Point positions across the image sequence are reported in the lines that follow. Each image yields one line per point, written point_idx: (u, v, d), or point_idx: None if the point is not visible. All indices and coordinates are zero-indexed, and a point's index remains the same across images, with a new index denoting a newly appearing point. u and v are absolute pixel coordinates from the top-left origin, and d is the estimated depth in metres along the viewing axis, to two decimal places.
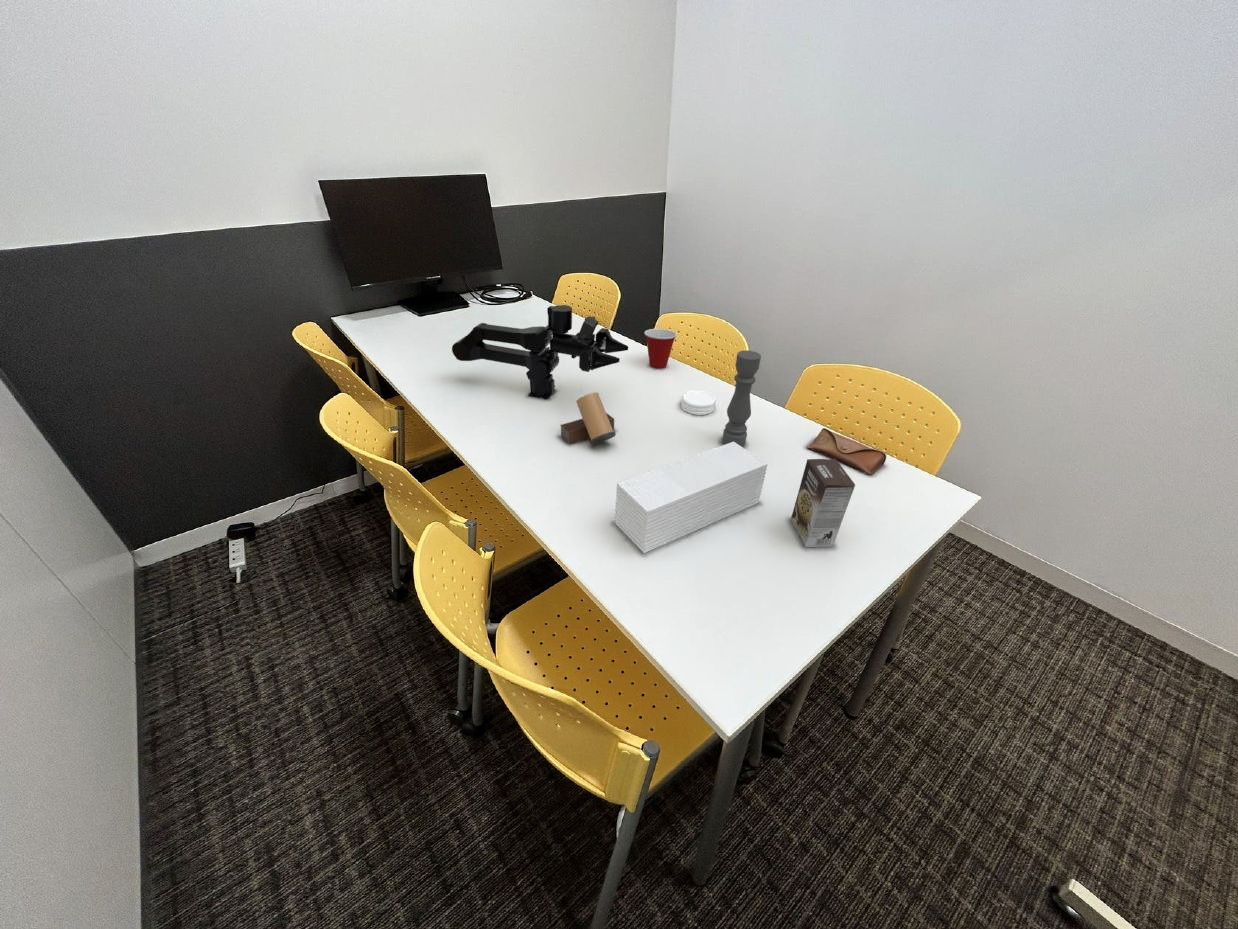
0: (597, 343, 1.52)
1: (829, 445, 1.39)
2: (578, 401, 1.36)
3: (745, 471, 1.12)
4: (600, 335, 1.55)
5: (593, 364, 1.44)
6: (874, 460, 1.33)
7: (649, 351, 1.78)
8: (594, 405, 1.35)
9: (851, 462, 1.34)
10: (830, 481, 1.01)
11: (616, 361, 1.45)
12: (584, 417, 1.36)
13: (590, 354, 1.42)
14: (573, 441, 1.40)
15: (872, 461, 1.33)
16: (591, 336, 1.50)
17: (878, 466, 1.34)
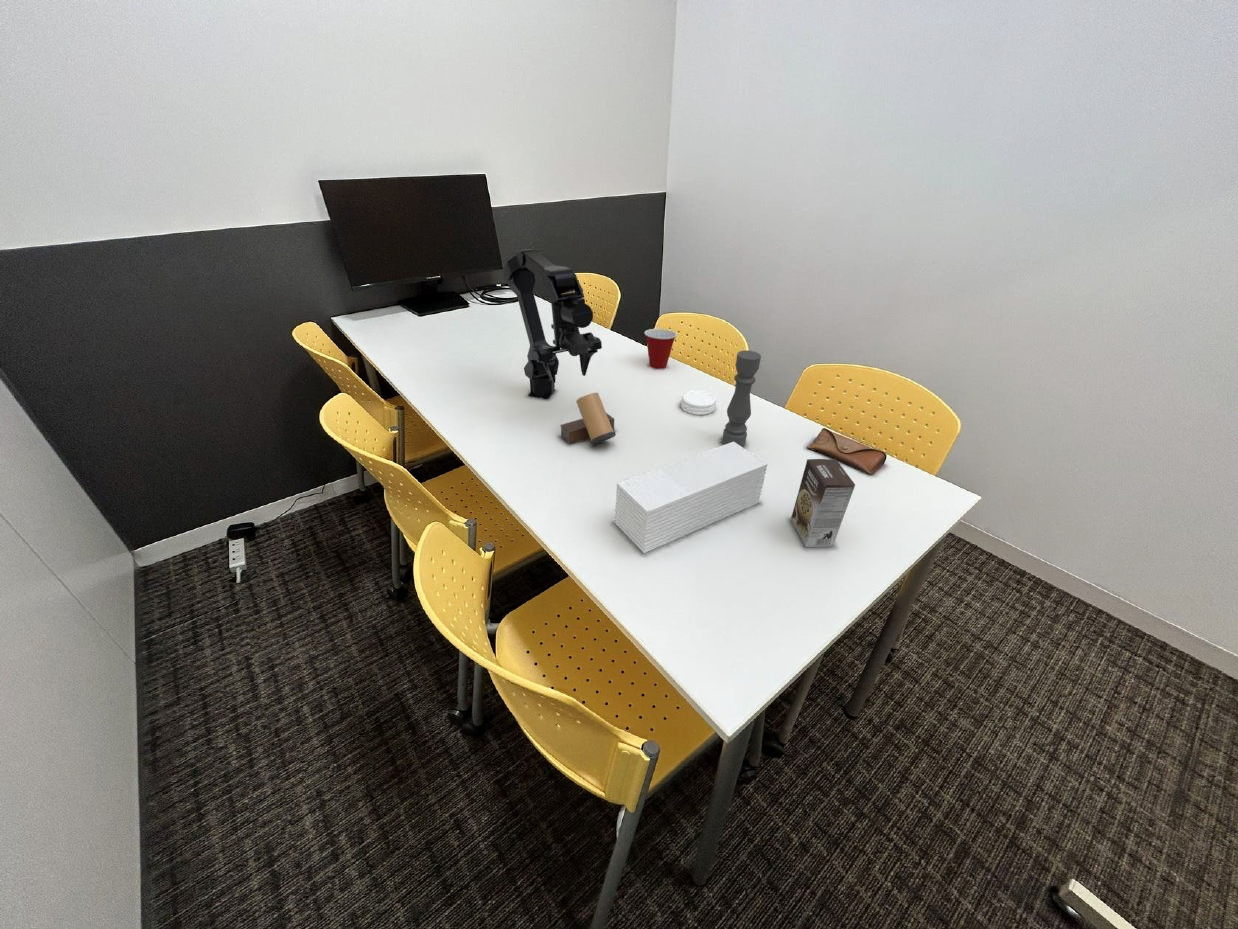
0: None
1: (829, 445, 1.39)
2: (578, 401, 1.36)
3: (745, 471, 1.12)
4: None
5: None
6: (874, 460, 1.33)
7: (649, 351, 1.78)
8: (594, 405, 1.35)
9: (851, 462, 1.34)
10: (830, 481, 1.01)
11: (551, 380, 1.42)
12: (584, 417, 1.36)
13: None
14: (573, 441, 1.40)
15: (872, 461, 1.33)
16: None
17: (878, 466, 1.34)
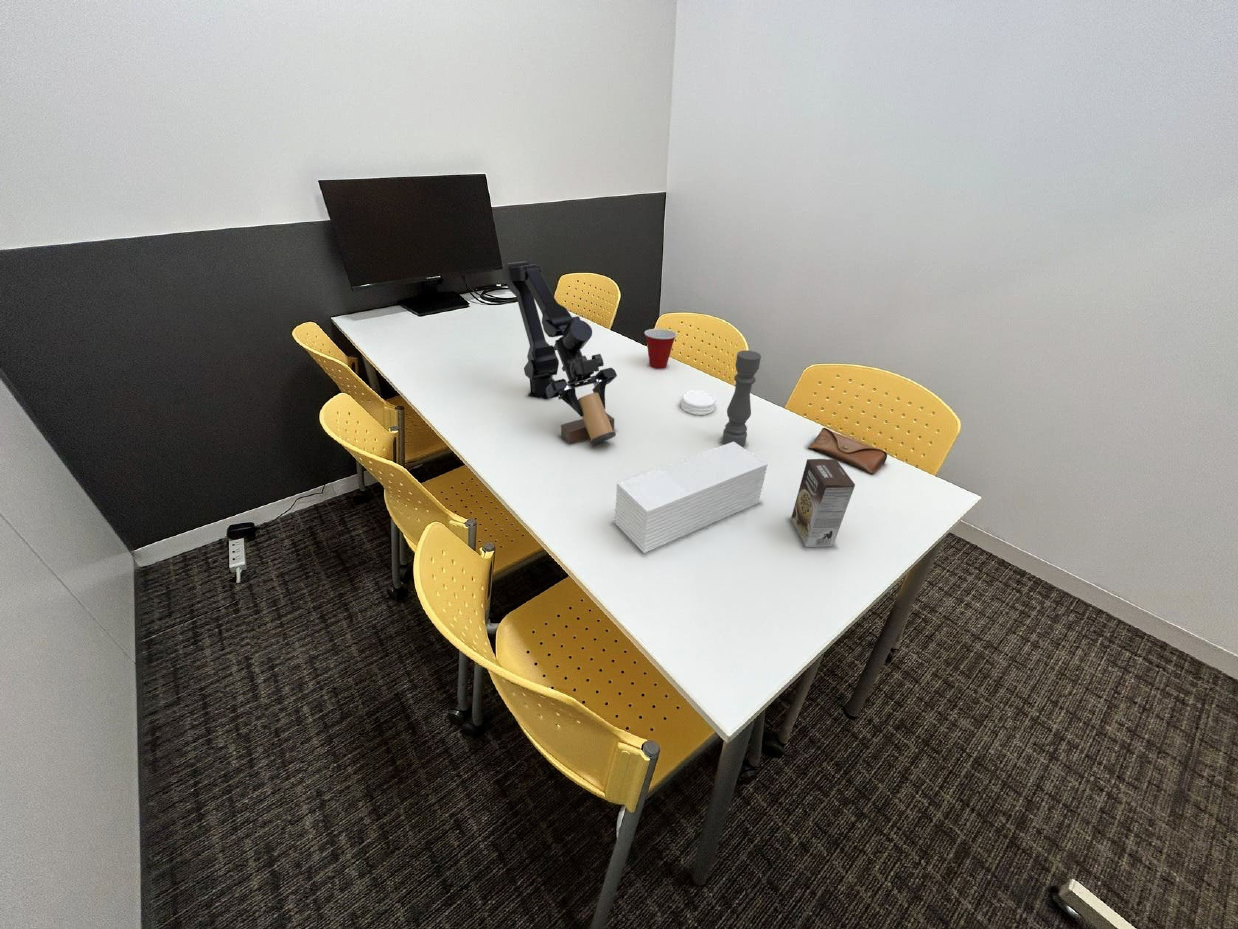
0: (591, 379, 1.40)
1: (830, 445, 1.39)
2: None
3: (745, 471, 1.12)
4: None
5: (562, 397, 1.37)
6: (875, 459, 1.33)
7: (649, 351, 1.78)
8: (594, 405, 1.35)
9: (852, 462, 1.34)
10: (830, 481, 1.01)
11: (579, 414, 1.36)
12: (584, 417, 1.36)
13: (563, 390, 1.34)
14: (573, 441, 1.40)
15: (873, 460, 1.33)
16: None
17: (879, 465, 1.35)
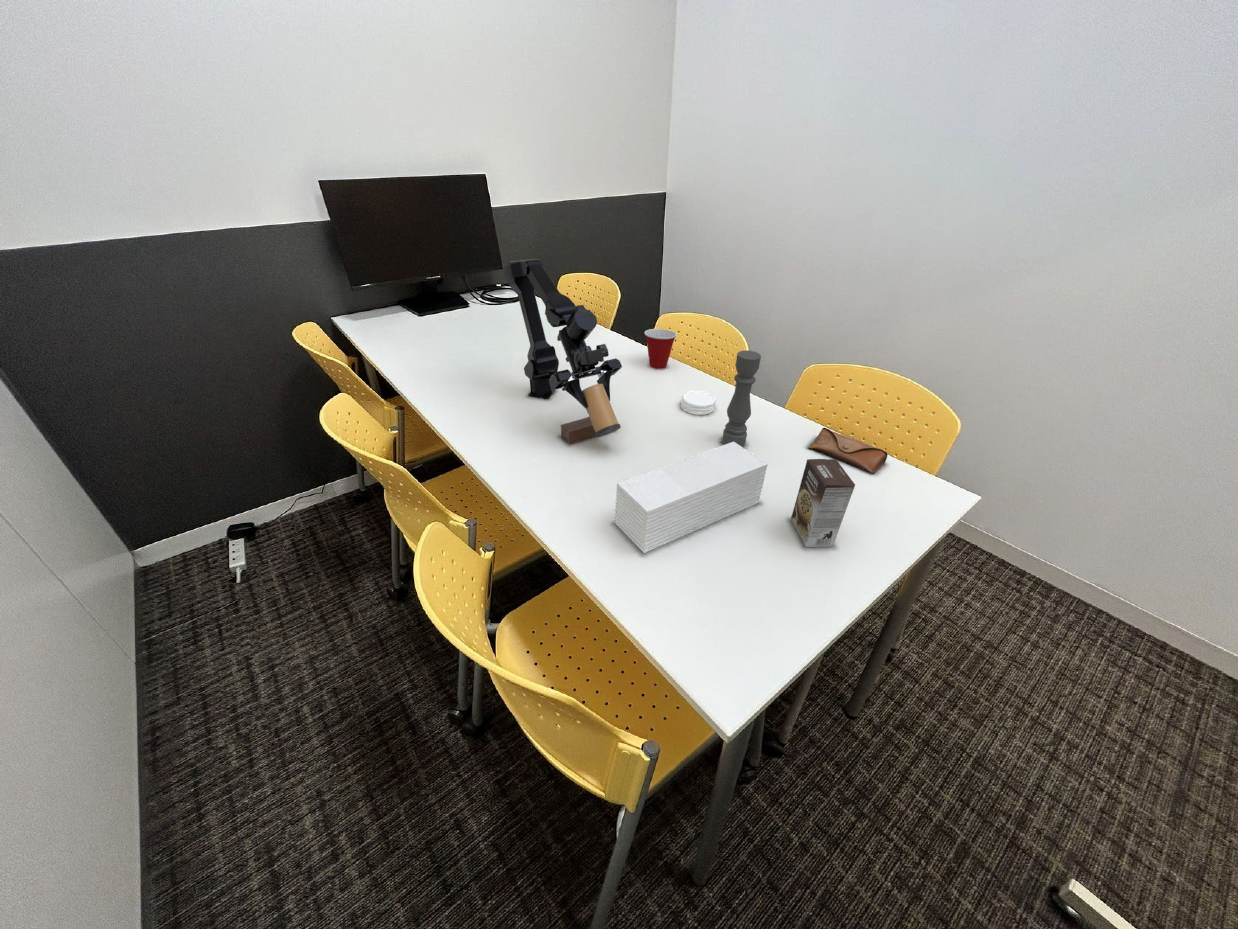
0: (596, 370, 1.36)
1: (830, 445, 1.39)
2: None
3: (745, 471, 1.12)
4: None
5: (566, 388, 1.33)
6: (876, 459, 1.34)
7: (649, 351, 1.78)
8: (599, 396, 1.32)
9: (853, 461, 1.35)
10: (830, 481, 1.01)
11: (584, 406, 1.33)
12: (588, 409, 1.33)
13: (566, 381, 1.30)
14: (573, 441, 1.40)
15: (874, 460, 1.33)
16: None
17: (880, 465, 1.35)
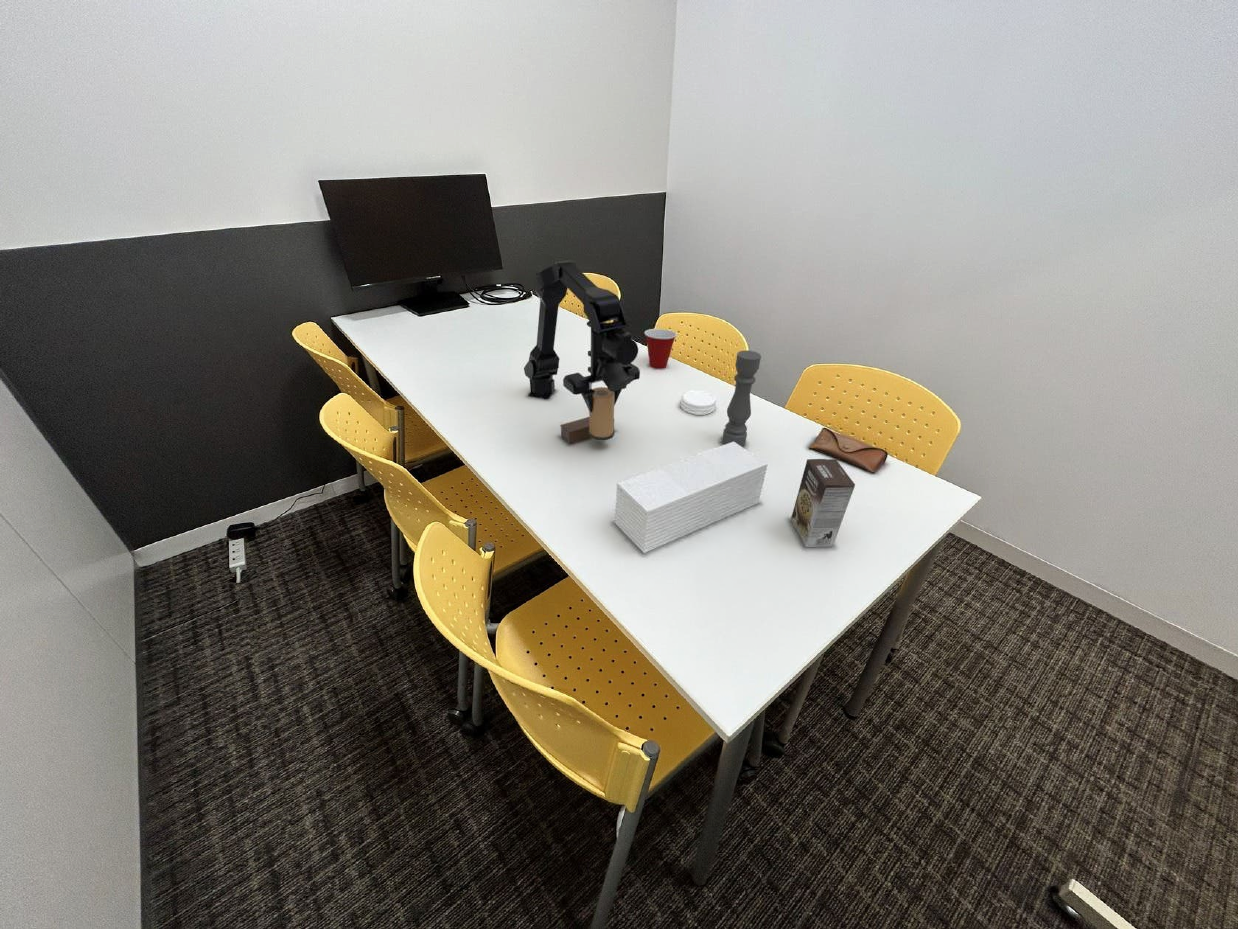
0: None
1: (830, 445, 1.39)
2: None
3: (745, 471, 1.12)
4: None
5: None
6: (876, 458, 1.34)
7: (649, 351, 1.78)
8: (607, 409, 1.30)
9: (853, 461, 1.35)
10: (830, 481, 1.01)
11: (588, 408, 1.31)
12: (592, 414, 1.32)
13: None
14: (573, 441, 1.40)
15: (874, 460, 1.34)
16: None
17: (880, 464, 1.35)
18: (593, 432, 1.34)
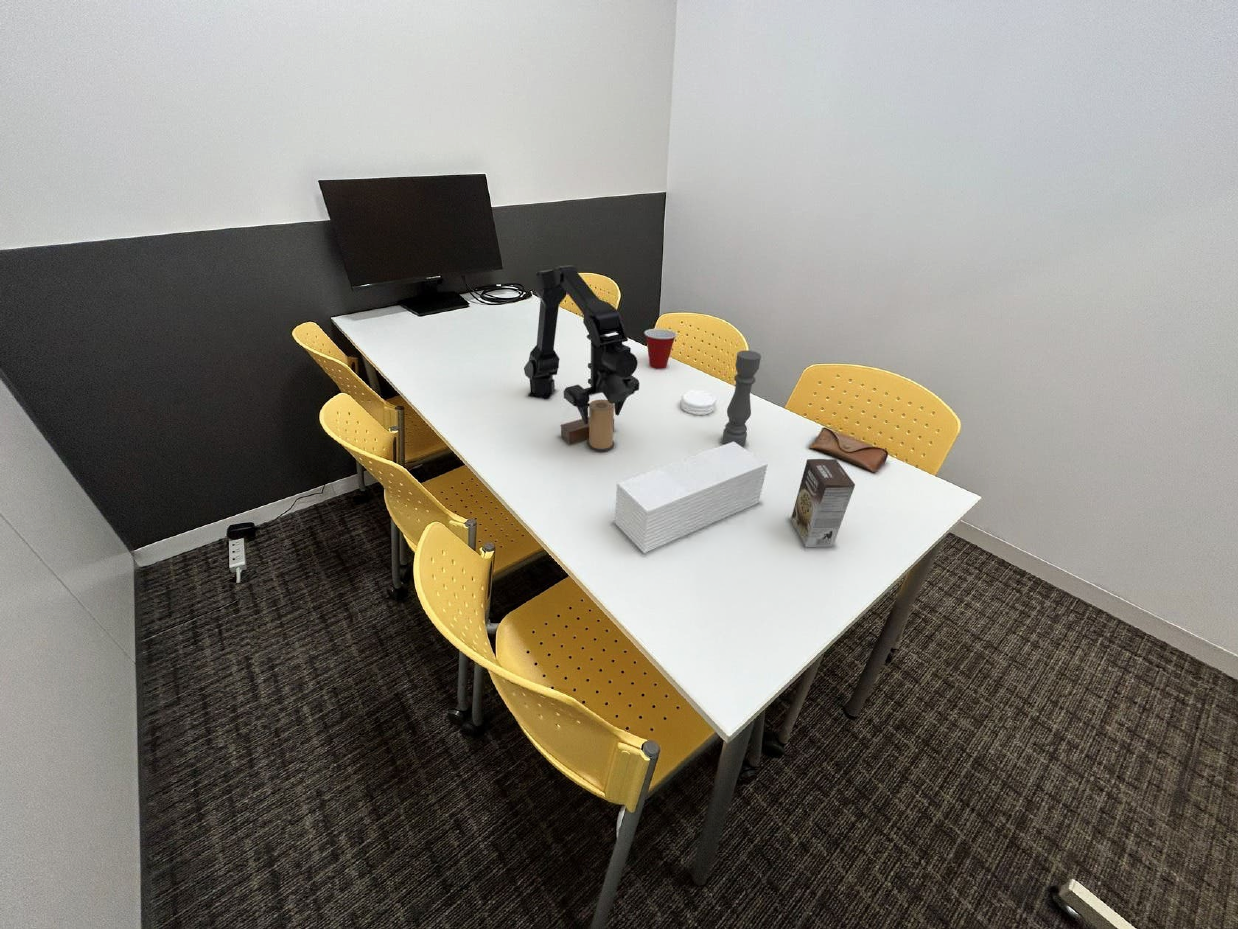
0: None
1: (831, 444, 1.39)
2: (592, 410, 1.31)
3: (745, 471, 1.12)
4: None
5: None
6: (877, 458, 1.34)
7: (649, 351, 1.78)
8: (606, 421, 1.32)
9: (854, 461, 1.35)
10: (830, 481, 1.01)
11: (584, 421, 1.32)
12: (591, 426, 1.34)
13: None
14: (573, 441, 1.40)
15: (875, 459, 1.34)
16: None
17: (881, 464, 1.35)
18: (593, 444, 1.36)
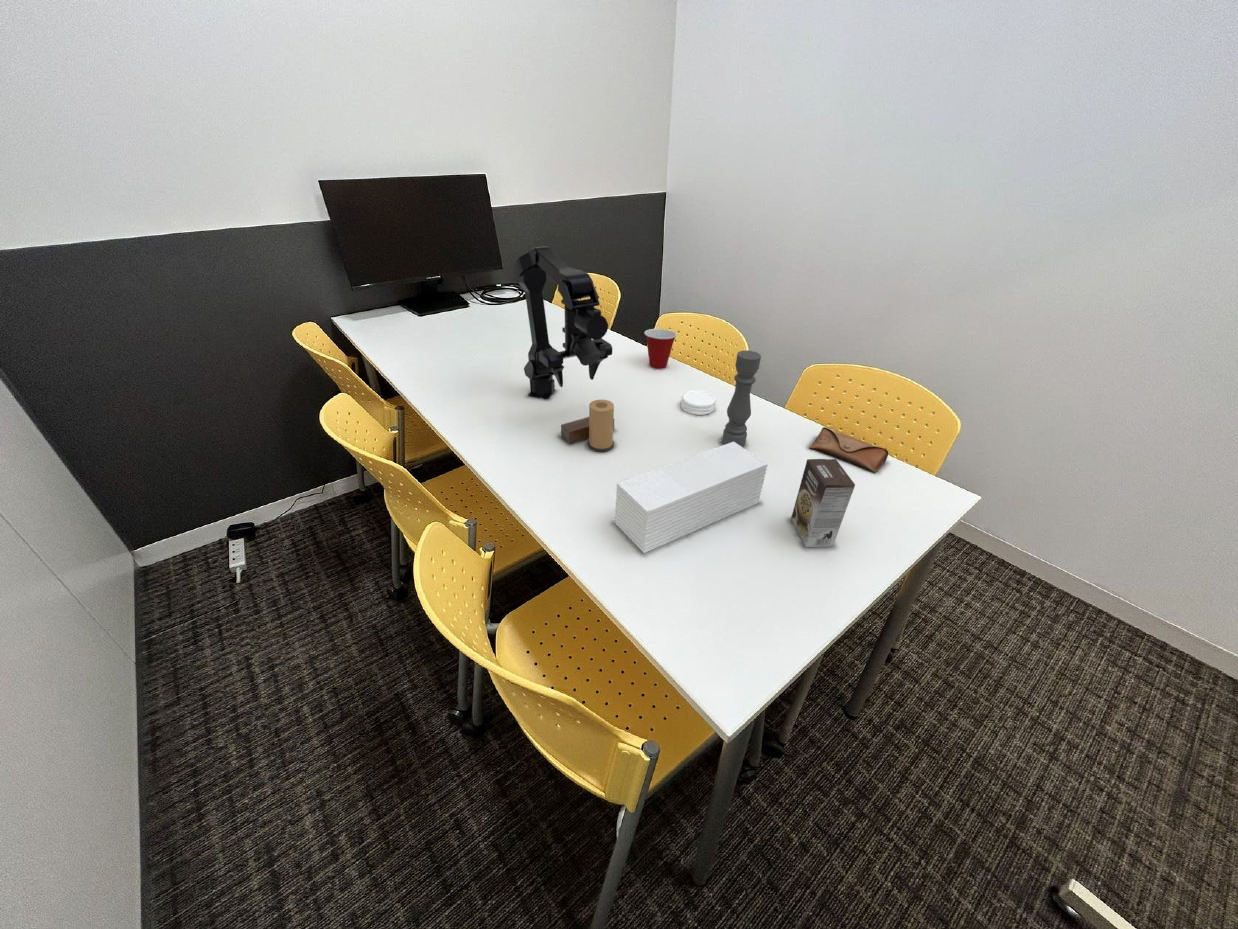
0: None
1: (831, 444, 1.39)
2: (592, 410, 1.31)
3: (745, 471, 1.12)
4: None
5: None
6: (877, 457, 1.34)
7: (649, 351, 1.78)
8: (606, 421, 1.32)
9: (855, 461, 1.35)
10: (830, 481, 1.01)
11: (559, 384, 1.39)
12: (591, 426, 1.34)
13: None
14: (573, 441, 1.40)
15: (875, 459, 1.34)
16: None
17: (881, 463, 1.35)
18: (593, 444, 1.36)
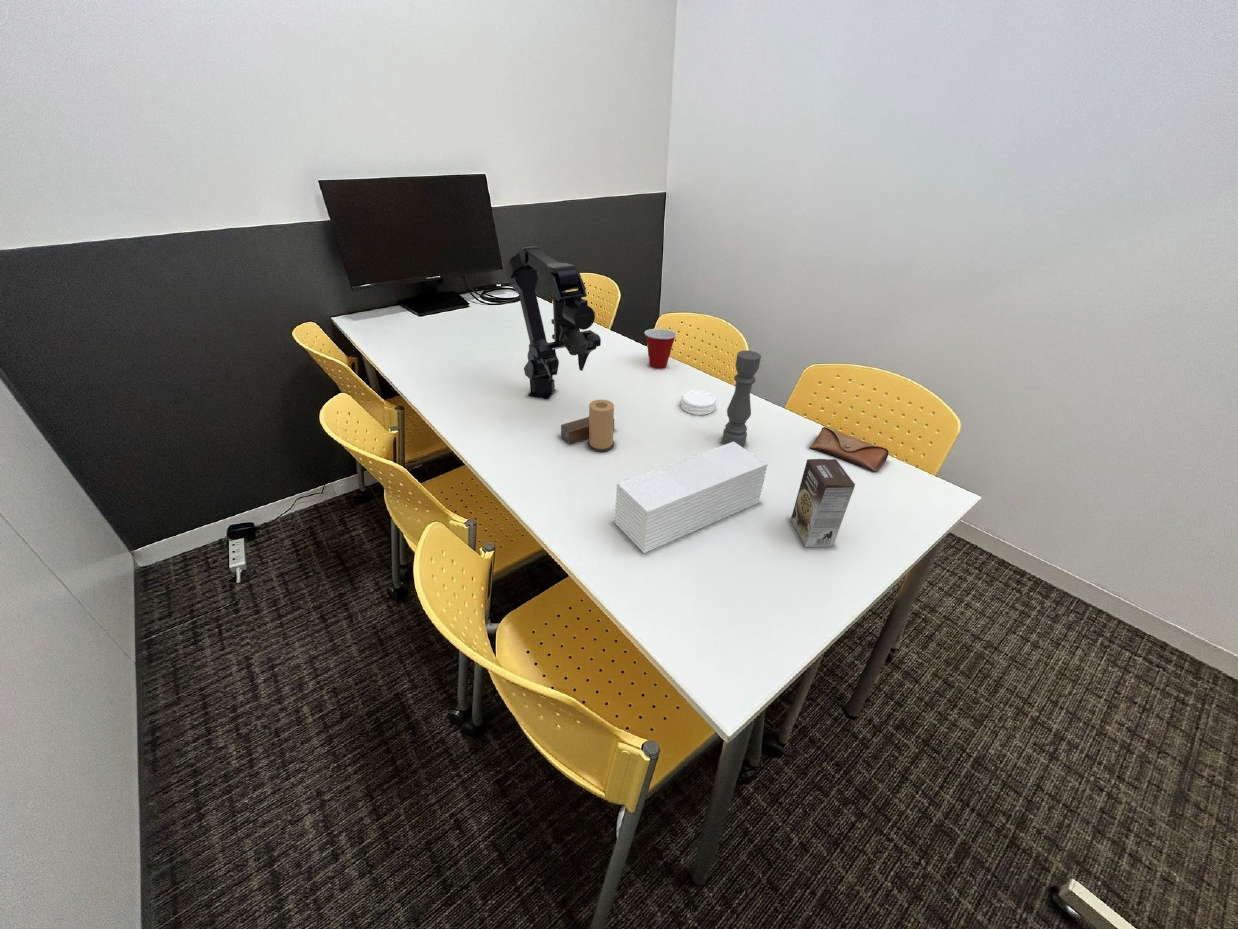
0: None
1: (832, 444, 1.39)
2: (592, 410, 1.31)
3: (745, 471, 1.12)
4: None
5: None
6: (878, 457, 1.34)
7: (649, 351, 1.78)
8: (606, 421, 1.32)
9: (855, 460, 1.35)
10: (830, 481, 1.01)
11: (549, 374, 1.42)
12: (591, 426, 1.34)
13: None
14: (573, 441, 1.40)
15: (876, 458, 1.34)
16: None
17: (881, 463, 1.36)
18: (593, 444, 1.36)
